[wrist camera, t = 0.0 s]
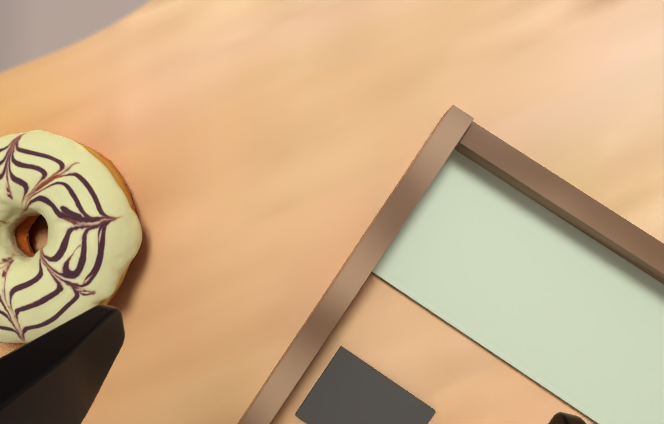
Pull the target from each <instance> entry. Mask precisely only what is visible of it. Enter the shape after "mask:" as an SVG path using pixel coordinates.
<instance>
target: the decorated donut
mask: <svg viewBox="0 0 664 424" xmlns="http://www.w3.org/2000/svg"><path fill="white" fill-rule="evenodd" d="M40 215H42V216H43V217H44V218H45V219H46V221H47V224H48V240H47V244H46V246H45V247H43V248H42V249H40V250H39V251H38V252H36V254H34V252H33V250H32V248H31V247H30V244H29V238H28V235H29V234H28V233H29V231H30V230H29V229H30V228H31V226H32V224H33V223H34V222H35V221H36V219H37V218H38V217H39V216H40ZM141 243H142V229H141V225H140V222H139V219H138V217H137V215H136V212H135V205H134V203H133V201H132V197H131V194H130V192H129V189H128V187H127V185H126V183H125V181H124V179H123V177H122V176H121V174H120V172H119V171H118V170H117V168H116V167H115V166H114V164H113V163H112V162H111V161H110V160H109V159H107V158H105V157H104V156H103V155H101V154H100V153H98V152H97V151H95V150H93V149H91V148H89V147H87V146H84V145H83V144H80V143H77V142H75V141H73V140H71V139H68V138H66V137H63V136H60V135H56V134H53V133H51V132H47V131H45V130H34V131H27V132H23V133H15V134H10V135H6V136H2V137H0V342H2V343H29V342H30V341H32V340H34V339H36V338H38V337H40V336H41V335H43V334H45V333H47V332H49V331H50V330H52V329H54V328H56V327H58V326H60V325H61V324H63V323H65V322H67V321H69V320H71V319H72V318H74V317H76V316H78V315H80V314H82V313H83V312H85V311H87V310H89V309H91V308H93V307H94V306H96V305H99V304H105V305H107V304H108V303H109V301H110V300H111V299H112V298H113V297H114V295H115V294H116V292H117V290H118V289H119V287H120V286H121V284H122V283H123V280H124V278H125V275H126V273H127V271H128V267H129V265H130V262H131V261H132V260H133V258H134V257H135V256H136V254H137V252H138V250H139V248H140V245H141Z"/></svg>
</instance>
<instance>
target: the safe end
mask: <svg viewBox="0 0 664 424" xmlns="http://www.w3.org/2000/svg"><path fill="white" fill-rule="evenodd" d="M372 272H373V273H375V274H376V275H378V276H379V277H381V278H382V279H384V280H385V281H387V282H388V283H390V284H391V285H393V286H394V287H396V288H397V289H399V290H400V291H402V292H403V293H405V294H406V295H408V296H409V297H411V298H412V299H414V300H415V301H416V302H418V303H419V304H421V305H422V306H424V307H425V308H427V309H428V310H430V311H431V312H433V313H434V314H436V315H437V316H439V317H440V318H442V319H443V320H445V321H446V322H448V323H449V324H451V325H452V326H454V327H455V328H457V329H458V330H460V331H461V332H463V333H464V334H466V335H467V336H469V337H470V338H472V339H473V340H475V341H476V342H478V343H479V344H481V345H482V346H484V347H485V348H487V349H488V350H490V351H491V352H493V353H494V354H496V355H497V356H498V357H500V358H501V359H503V360H504V361H506V362H507V363H509V364H510V365H512V366H513V367H515V368H516V369H518V370H519V371H521V372H522V373H524V374H525V375H527V376H528V377H530V378H531V379H533V380H534V381H536V382H537V383H539V384H540V385H542V386H543V387H545V388H546V389H548V390H549V391H551V392H552V393H554V394H555V395H557V396H558V397H560V398H561V399H563V400H564V401H566V402H567V403H569V404H570V405H572V406H573V407H575V408H576V409H578V410H579V411H580V412H582V413H583V414H585V415H586V416H588V417H589V418H591V419H592V420H594V421H595V422H597V423H598V424H664V284H662V283H661V282H659V281H657V280H656V279H654V278H653V277H651V276H650V275H648V274H647V273H645V272H644V271H642V270H640V269H639V268H637V267H636V266H634V265H633V264H631V263H630V262H628V261H626V260H625V259H623V258H622V257H620V256H619V255H617V254H616V253H614V252H613V251H611V250H609V249H608V248H606V247H605V246H603V245H602V244H600V243H599V242H597V241H596V240H594V239H592V238H591V237H589V236H588V235H586V234H585V233H583V232H582V231H580V230H579V229H577V228H575V227H574V226H572V225H571V224H569V223H568V222H566V221H565V220H563V219H562V218H560V217H558V216H557V215H555V214H554V213H552V212H551V211H549V210H548V209H546V208H545V207H543V206H541V205H540V204H538V203H537V202H535V201H534V200H532V199H531V198H529V197H528V196H526V195H524V194H523V193H521V192H520V191H518V190H517V189H515V188H514V187H512V186H510V185H509V184H507V183H506V182H504V181H503V180H501V179H500V178H498V177H497V176H495V175H493V174H492V173H490V172H489V171H487V170H486V169H484V168H483V167H481V166H480V165H478V164H476V163H475V162H473V161H472V160H470V159H469V158H467V157H466V156H464V155H463V154H461V153H459V152H458V151H456V150H455V149H453V151H452V152H451V154H450V155H449V157H448V158H447V160H446V161H445V163H444V164H443V166H442V167H441V169H440V170H439V172H438V173H437V175H436V176H435V178H434V179H433V181H432V182H431V184H430V185H429V187H428V188H427V189H426V191H425V192H424V194H423V195H422V197H421V198H420V200H419V201H418V203H417V204H416V206H415V207H414V209H413V210H412V212H411V213H410V215H409V216H408V218H407V219H406V221H405V222H404V224H403V225H402V227H401V228H400V230H399V231H398V233H397V234H396V236H395V237H394V239H393V240H392V242H391V243H390V245H389V246H388V248H387V249H386V251H385V252H384V254H383V255H382V257H381V258H380V260H379V261H378V263H377V264H376V266H375V267H374V269H373V270H372Z"/></svg>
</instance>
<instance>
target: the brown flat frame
mask: <svg viewBox="0 0 664 424" xmlns="http://www.w3.org/2000/svg"><path fill="white" fill-rule="evenodd" d="M473 119H474V118H473V117H471V116H470V115H468V114H466V113H465V112H463V111H462V110H460V109H459V108H457V107H456V106H454V105H452V106H451V108H450V109H449V110H448V111H447V112H446V113H445V114H444V116H443V117H442V118H441V120H440V121H439V123H438V124H437V126H436V127H435V129H434V130H433V132H432V133H431V135H430V136H429V138H428V139H427V141H426V142H425V144H424V145H423V147H422V148H421V150H420V151H419V153H418V154H417V156H416V157H415V159H414V160H413V162H412V163H411V165H410V166H409V168H408V169H407V171H406V172H405V174H404V175H403V177H402V178H401V180H400V181H399V183H398V184H397V186H396V187H395V189H394V190H393V192H392V193H391V195H390V196H389V198H388V199H387V201H386V202H385V204H384V205H383V207H382V208H381V210H380V211H379V213H378V214H377V216H376V217H375V219H374V220H373V222H372V223H371V225H370V226H369V228H368V229H367V231H366V232H365V234H364V235H363V237H362V238H361V240H360V241H359V243H358V244H357V246H356V247H355V249H354V250H353V252H352V253H351V255H350V256H349V258H348V259H347V261H346V262H345V264H344V265H343V267H342V268H341V270H340V271H339V273H338V274H337V276H336V277H335V279H334V280H333V282H332V283H331V285H330V286H329V288H328V289H327V291H326V292H325V294H324V295H323V297H322V298H321V300H320V301H319V303H318V304H317V306H316V307H315V309H314V310H313V312H312V313H311V315H310V316H309V318H308V319H307V321H306V322H305V324H304V325H303V326H302V328H301V329H300V331H299V332H298V334H297V335H296V337H295V338H294V340H293V341H292V343H291V344H290V346H289V347H288V349H287V350H286V352H285V353H284V355H283V356H282V358H281V359H280V361H279V362H278V364H277V365H276V367H275V368H274V370H273V371H272V373H271V374H270V376H269V377H268V379H267V380H266V382H265V383H264V385H263V386H262V388H261V389H260V391H259V392H258V394H257V395H256V397H255V398H254V400H253V401H252V403H251V404H250V406H249V407H248V409H247V410H246V412H245V413H244V415H243V416H242V418H241V419H240V421H239V422H238V424H270V422H271V421H272V419H273V418H274V416H275V415H276V413H277V412H278V410H279V409H280V407H281V406H282V404H283V403H284V401H285V400H286V398H287V397H288V396H289V394H290V393H291V391H292V390H293V388H294V387H295V385H296V384H297V382H298V381H299V379H300V378H301V376H302V375H303V373H304V372H305V370H306V369H307V367H308V366H309V364H310V363H311V361H312V360H313V358H314V357H315V355H316V354H317V352H318V351H319V349H320V348H321V346H322V345H323V343H324V342H325V340H326V339H327V337H328V336H329V334H330V333H331V331H332V330H333V328H334V327H335V325H336V324H337V322H338V321H339V319H340V318H341V316H342V315H343V313H344V312H345V310H346V309H347V307H348V306H349V304H350V303H351V301H352V300H353V298H354V297H355V295H356V294H357V293H358V291H359V290H360V288H361V287H362V285H363V284H364V282H365V281H366V279H367V278H368V276H369V275H370V273H371V272H372V270H373V269H374V267H375V266H376V264H377V263H378V261H379V260H380V258H381V257H382V255H383V254H384V252H385V251H386V249H387V248H388V246H389V245H390V243H391V242H392V240H393V239H394V237H395V236H396V234H397V233H398V231H399V230H400V228H401V227H402V225H403V224H404V222H405V221H406V219H407V218H408V216H409V215H410V213H411V212H412V210H413V209H414V207H415V206H416V204H417V203H418V201H419V200H420V198H421V197H422V195H423V194H424V192H425V191H426V189H427V188H428V187H429V185H430V184H431V182H432V181H433V179H434V178H435V176H436V175H437V173H438V172H439V170H440V169H441V167H442V166H443V164H444V163H445V161H446V160H447V158H448V157H449V155H450V154H451V152H452V151H453V149H455V150H456V151H458V152H459V153H461V154H463V155H464V156H466V157H467V158H469V159H470V160H472V161H473V162H475V163H476V164H478V165H480V166H481V167H483V168H484V169H486V170H487V171H489V172H490V173H492V174H493V175H495V176H497V177H498V178H500V179H501V180H503V181H504V182H506V183H507V184H509V185H510V186H512V187H514V188H515V189H517V190H518V191H520V192H521V193H523V194H524V195H526V196H528V197H529V198H531V199H532V200H534V201H535V202H537V203H538V204H540V205H541V206H543V207H545V208H546V209H548V210H549V211H551V212H552V213H554V214H555V215H557V216H558V217H560V218H562V219H563V220H565V221H566V222H568V223H569V224H571V225H572V226H574V227H575V228H577V229H579V230H580V231H582V232H583V233H585V234H586V235H588V236H589V237H591V238H592V239H594V240H596V241H597V242H599V243H600V244H602V245H603V246H605V247H606V248H608V249H609V250H611V251H613V252H614V253H616V254H617V255H619V256H620V257H622V258H623V259H625V260H626V261H628V262H630V263H631V264H633V265H634V266H636V267H637V268H639V269H640V270H642V271H644V272H645V273H647V274H648V275H650V276H651V277H653V278H654V279H656V280H657V281H659V282H661V283H662V284H664V244H663V243H661V242H660V241H658V240H657V239H655V238H654V237H652V236H651V235H649V234H647V233H646V232H644V231H643V230H641V229H640V228H638V227H637V226H635V225H633V224H632V223H630V222H629V221H627V220H626V219H624V218H622V217H621V216H619V215H618V214H616V213H615V212H613V211H612V210H610V209H608V208H607V207H605V206H604V205H602V204H601V203H599V202H598V201H596V200H594V199H593V198H591V197H590V196H588V195H587V194H585V193H584V192H582V191H580V190H579V189H577V188H576V187H574V186H573V185H571V184H569V183H568V182H566V181H565V180H563V179H562V178H560V177H559V176H557V175H555V174H554V173H552V172H551V171H549V170H548V169H546V168H545V167H543V166H541V165H540V164H538V163H537V162H535V161H534V160H532V159H530V158H529V157H527V156H526V155H524V154H523V153H521V152H520V151H518V150H516V149H515V148H513V147H512V146H510V145H509V144H507V143H506V142H504V141H502V140H501V139H499V138H498V137H496V136H495V135H493V134H491V133H490V132H488V131H487V130H485V129H484V128H482V127H481V126H479V125H477V124H476V123H474V122H473ZM434 414H435V410H434V409H433V408H431V407H430V406H428V405H427V404H425V403H424V402H422V401H421V400H419V399H418V398H416V397H415V396H414V395H412V394H411V393H409V392H408V391H406V390H405V389H403V388H402V387H400V386H399V385H397V384H396V383H395V382H393V381H392V380H390V379H389V378H387V377H386V376H384V375H383V374H381V373H380V372H378V371H377V370H376V369H374V368H373V367H371V366H370V365H368V364H367V363H365V362H364V361H362V360H361V359H359V358H358V357H357V356H355V355H354V354H352V353H351V352H349V351H348V350H346V349H345V348H343V347H342V346H340V348H339V349H338V351H337V352H336V354H335V355H334V357H333V358H332V360H331V361H330V363H329V364H328V366H327V367H326V369H325V370H324V372H323V373H322V375H321V376H320V378H319V379H318V381H317V382H316V384H315V385H314V387H313V388H312V390H311V391H310V393H309V394H308V396H307V397H306V399H305V400H304V402H303V403H302V405H301V406H300V408H299V409H298V411H297V412H296V416H297V417H299V418H300V419H301V420H303V421H304V422H306V423H307V424H428V423H429V421H430V420H431V418H432V417H433V415H434Z"/></svg>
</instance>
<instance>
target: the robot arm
mask: <svg viewBox="0 0 664 424" xmlns="http://www.w3.org/2000/svg"><path fill="white" fill-rule="evenodd" d="M124 338H125V332H124V325H123V319H122V313H121V310H120V309H119V308H117V307H114V306H109V305H105V304H99V305H96V306H94V307H93V308H91V309H89V310H87V311H85V312H83V313H82V314H80V315H78V316H76V317H74V318H72V319H71V320H69V321H67V322H65V323H63V324H61V325H60V326H58V327H56V328H54V329H52V330H50V331H49V332H47V333H45V334H43V335H41V336H40V337H38V338H36V339H34V340H32V341H30V342H29V343H27V344H25V345H23V346H21V347H19V348H18V349H16V350H14V351H12V352H10V353H8V354H7V355H5V356H3V357H1V358H0V424H81V423H82V421H83V419H84V418H85V416H86V414H87V413H88V411H89V409H90V407H91V405H92V403H93V402H94V400H95V398H96V396H97V394H98V392H99V390H100V388H101V386H102V384H103V382H104V380H105V378H106V376H107V374H108V372H109V370H110V368H111V366H112V364H113V362H114V361H115V359H116V357H117V355H118V353H119V351H120V349H121V347H122V345H123V342H124ZM548 424H586V423H585V422H584V420H582V419H581V418H580V417H578V416H575V415H571V414H567V413H563V412H559V413H556V414H555V415H554V416H553V418H552V419H551V421H550V422H549V423H548Z"/></svg>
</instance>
